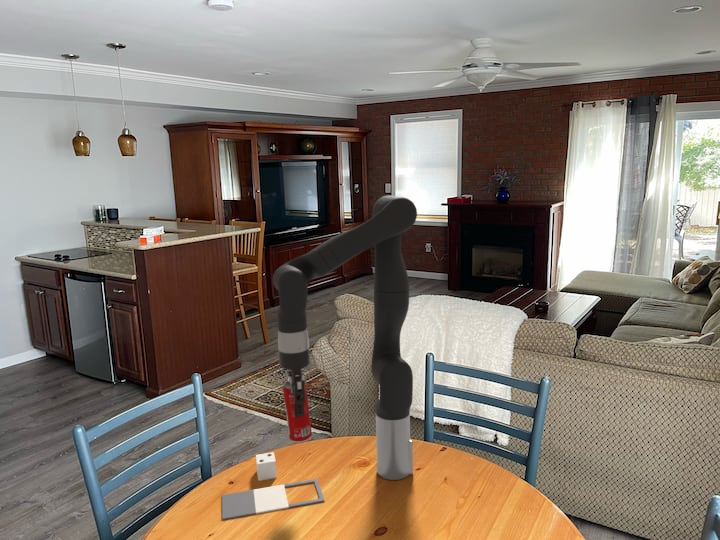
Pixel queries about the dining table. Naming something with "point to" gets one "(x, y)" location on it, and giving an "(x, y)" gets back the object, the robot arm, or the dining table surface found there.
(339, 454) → the dining table surface
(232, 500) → the grey frame tray
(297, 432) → the beverage can
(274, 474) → the die
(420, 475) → the dining table surface
